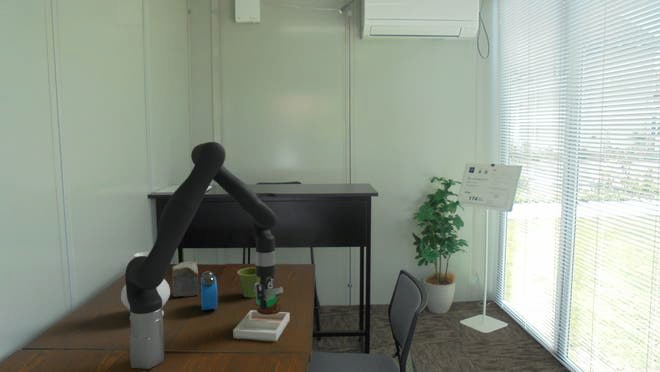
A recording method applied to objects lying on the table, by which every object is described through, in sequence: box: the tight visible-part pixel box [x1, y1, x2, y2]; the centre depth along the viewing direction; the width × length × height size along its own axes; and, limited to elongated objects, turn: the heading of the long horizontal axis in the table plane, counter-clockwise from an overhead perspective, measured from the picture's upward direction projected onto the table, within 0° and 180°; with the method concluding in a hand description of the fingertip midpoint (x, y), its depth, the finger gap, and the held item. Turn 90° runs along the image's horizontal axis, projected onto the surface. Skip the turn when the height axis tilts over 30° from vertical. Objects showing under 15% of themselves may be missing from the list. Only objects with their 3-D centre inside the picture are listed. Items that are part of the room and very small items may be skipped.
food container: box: [253, 282, 284, 315], centre depth 163 cm, size 12×6×10 cm, turn 63°
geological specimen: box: [171, 260, 200, 298], centre depth 195 cm, size 11×6×15 cm, turn 115°
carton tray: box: [232, 309, 291, 342], centre depth 161 cm, size 18×16×3 cm
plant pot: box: [237, 267, 260, 299], centre depth 195 cm, size 12×12×11 cm
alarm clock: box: [199, 270, 218, 312], centre depth 179 cm, size 13×6×15 cm, turn 19°
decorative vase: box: [120, 251, 171, 317], centre depth 171 cm, size 18×18×25 cm
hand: (266, 306), depth 164 cm, fingers closed on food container, 5 cm apart
